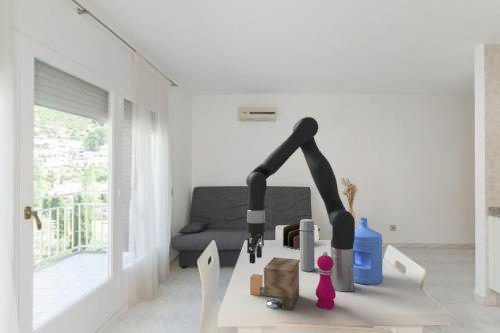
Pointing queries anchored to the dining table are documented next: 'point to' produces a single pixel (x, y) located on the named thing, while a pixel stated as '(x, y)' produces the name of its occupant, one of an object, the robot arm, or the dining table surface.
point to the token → (273, 303)
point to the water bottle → (307, 245)
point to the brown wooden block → (282, 280)
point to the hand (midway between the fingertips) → (255, 260)
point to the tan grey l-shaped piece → (258, 286)
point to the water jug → (367, 255)
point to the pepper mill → (325, 282)
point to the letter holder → (291, 236)
